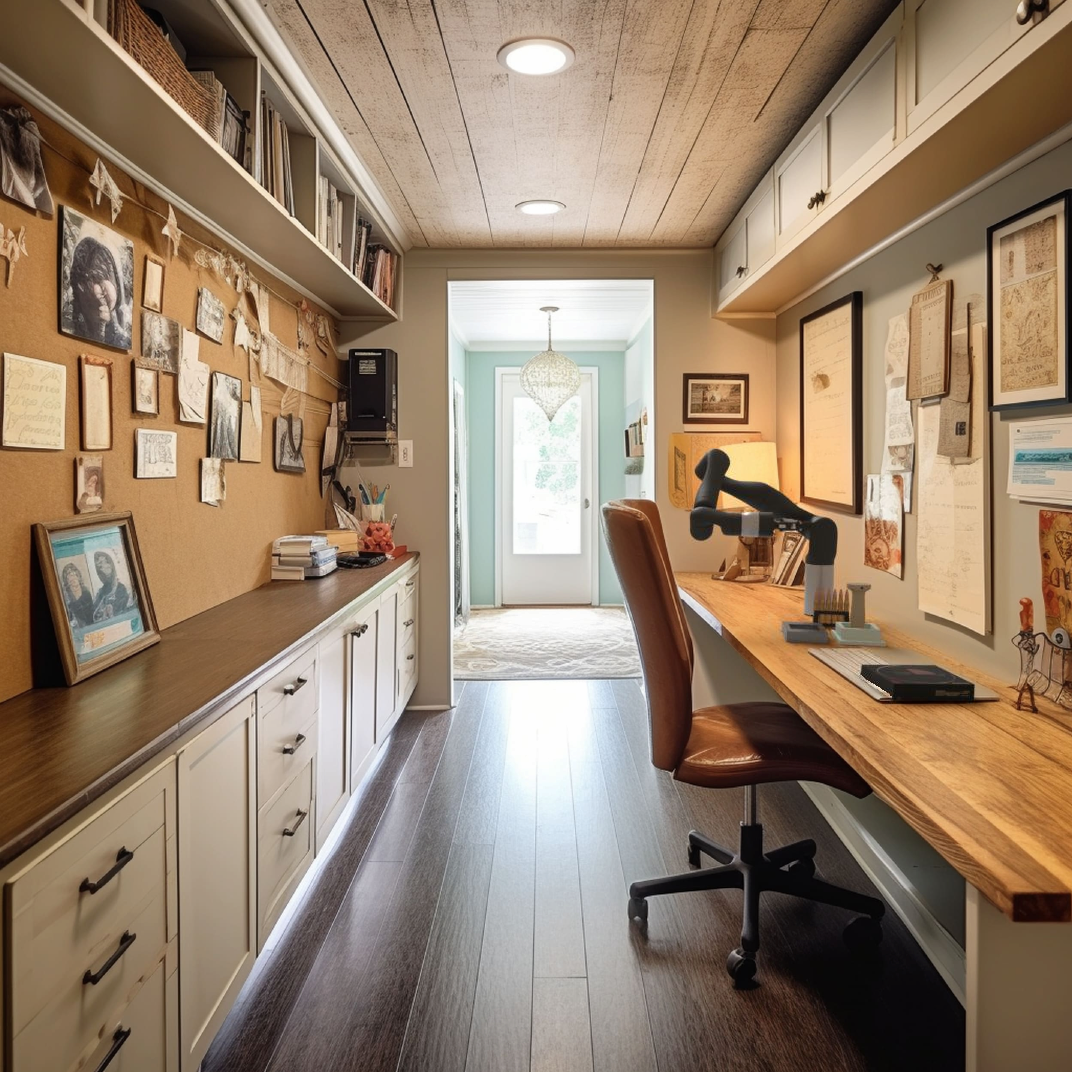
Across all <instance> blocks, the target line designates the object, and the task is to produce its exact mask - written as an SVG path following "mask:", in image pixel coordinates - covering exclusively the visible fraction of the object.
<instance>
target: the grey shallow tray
mask: <svg viewBox="0 0 1072 1072" xmlns="http://www.w3.org/2000/svg"><path fill="white" fill-rule="evenodd" d="M830 634H831V636H832V637H833V638H834V639H835V640H836V642H837V643H838V645H843V646H864V647H865V646H866V647H867V646H869V647H883V648H885V647H886V648H887V642H886V641H885V640H883V638H882V629H881V628H880V627H878V625H876V624H875V623H874V622H865V625H864V629H862V628H850V621H849V622H836V625H835V629H830Z"/></svg>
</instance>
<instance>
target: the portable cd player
mask: <svg viewBox="0 0 1072 1072" xmlns="http://www.w3.org/2000/svg"><path fill="white" fill-rule="evenodd" d="M860 667H861V668H860V672H859V674H860V675H862V676H863V677H864V678H865V679H866V680H868V681H870V682H871V683H873V684H875V685H876V686H878V687H880V688H881V689H882V690H884V691H886V692H887V693H889V694H890V696H892V698H893V700H892V701H894V702H895V701H896V702H897V700H898V701H902V702H903V701H904V702H905V701H906V702H907V701H908V702H918V701H919V702H974V701H975V691H976V690H975V685H976V684H975V683H973V682H970V681H969V680H966V679H964V678H963V677H961V676H958V675H956V674H954V673H952V672H950V671H948V670H946V669H944V668H942V667H940V666H938V665H936V664H864V663H863V664H862V663H861V666H860ZM860 675H859V676H860Z"/></svg>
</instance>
